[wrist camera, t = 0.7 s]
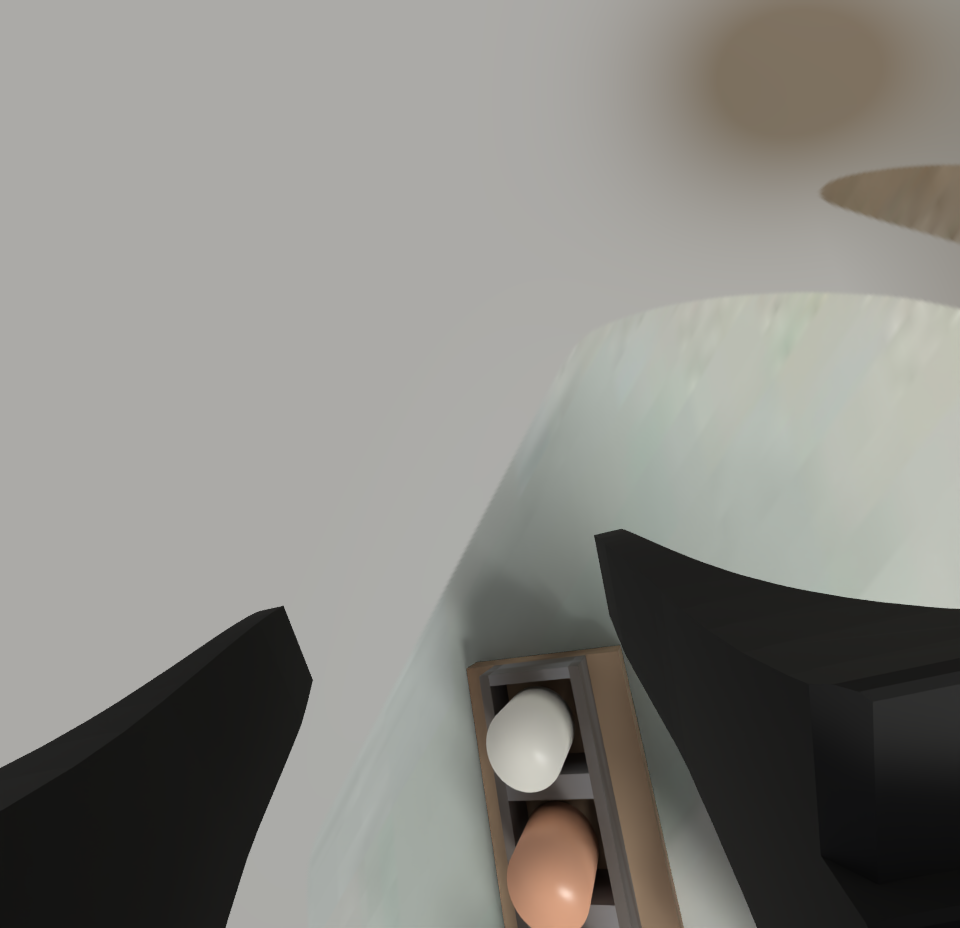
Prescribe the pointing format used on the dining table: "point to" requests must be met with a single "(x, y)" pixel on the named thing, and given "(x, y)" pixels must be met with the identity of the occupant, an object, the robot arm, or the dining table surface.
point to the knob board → (584, 784)
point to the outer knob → (531, 739)
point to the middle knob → (554, 867)
